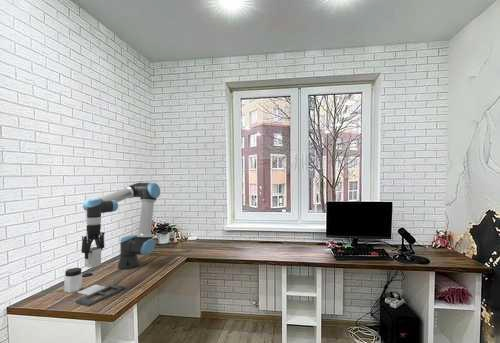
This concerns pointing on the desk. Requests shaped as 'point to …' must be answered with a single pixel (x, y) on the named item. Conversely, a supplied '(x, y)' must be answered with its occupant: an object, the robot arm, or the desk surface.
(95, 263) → the pale translucent bottle
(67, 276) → the jar
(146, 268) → the desk surface
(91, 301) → the rack rail
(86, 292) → the parts mat
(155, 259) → the desk surface
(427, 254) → the desk surface
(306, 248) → the desk surface
